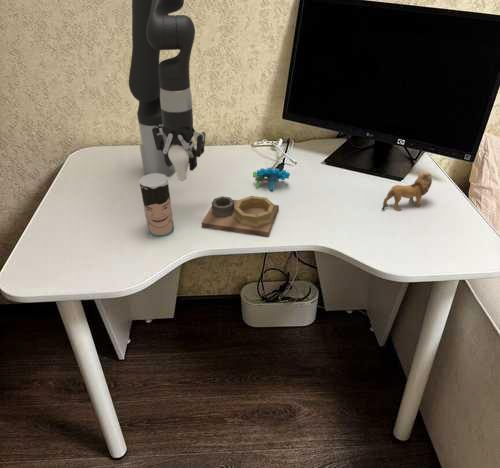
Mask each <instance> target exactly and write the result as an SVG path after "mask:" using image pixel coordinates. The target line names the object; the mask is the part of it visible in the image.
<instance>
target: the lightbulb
mask: <svg viewBox="0 0 500 468" xmlns="http://www.w3.org/2000/svg"><path fill="white" fill-rule="evenodd" d="M168 156H169V159H170V161H171V162H172V163H173V165H174V167H175V173H176V177H177V180H178V181H180V182H185V181H186V180H187V179H188V174H187V173H188V166H189V158H190V156H189V154H188V152H187V151H185V149H184V147H183V146H180V145H173V144H172V145H171V147H170V148H169V151H168Z"/></svg>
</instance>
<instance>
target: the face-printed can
mask: <svg viewBox="0 0 500 468" xmlns="http://www.w3.org/2000/svg"><path fill="white" fill-rule="evenodd" d="M139 186H140V192H141V197H142V202H143V208H144V215H145V219H146V228H147V232H148V234H149V236H151V237H153V238H158V239H160V238H165V237H168V236H170V235H172V234H173V233H174V232H175V224H174V216H173V210H172V203H171V195H170V194H171V193H170V188H169V180H168V177H167V176H166V175H164V174H160V173H152V174H148V175H147V174H144V175H143V176H142V177H141V178H140V179H139Z"/></svg>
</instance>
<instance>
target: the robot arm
mask: <svg viewBox="0 0 500 468" xmlns="http://www.w3.org/2000/svg"><path fill="white" fill-rule="evenodd" d="M184 3H185V0H131V12H132V13H131V37H132V41H131V42H132V44H131V45H132V48H131V49H132V50H131V51H132V52H131V59H130V67H129V74H128V87H129V91H130V93H131V95H132V96H133V98H134V99H136V100H137V101H138V109H137V112H136V113H137V114H136V115H137V121H138V126H139V133H140V138H141V144H140V146H139V150H140V155H141V163H142V167H143V173H144V175H148V174H152V173H160V174H164V175H166V176H167V178H168V177H171V176H172V175H174V174H175V173H176V171H175V167H174V165H173V163H172V162H171V161H170V159H169V156H168V151H169V148H170V147H171V145H172V144H173V145H180V146H183V147H184V149H185V151H187V152H188V154H189V156H190V158H189V164H188V166H189V171H193V172H194V170H195V169H196V168H197V167H198V158H200V157H201V156H202V155H203V154H204V152H205V143H206V132H204V131H202V132H197V131H196V130H195V128H194V116H193V115H194V114H193V113H194V112H193V99H192V98H193V97H192V91H191V82H190V81H191V79H190V62H191V56H192V55H191V54H192V50H193V46H194V42H195V37H196V27H195V23H194V22H193V20H192V18H191V17H190V16H189V15H185V14H176V15H175V14H173V13H176V12H178V11H179V10H181V9H183V6H184ZM170 14H173V15H170ZM173 50H175V51H177V50H179V52H178V54H177V55H175V56H173V57H169V58H166V59H163V60H162V61H160V55H161V51H173ZM193 138H194V139H195V141H194V139H193ZM195 142H196V146H195Z"/></svg>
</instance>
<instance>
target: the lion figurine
mask: <svg viewBox="0 0 500 468" xmlns="http://www.w3.org/2000/svg"><path fill="white" fill-rule="evenodd" d="M432 183H433V177H432V174H431V173H429V172H425V171H424V172H422V173H419V174H418V175H417V178H416V180H414V182H413V183H412V184H408V185H401V184H395V185H393V186H392V187H391V188H390V190H389V191H388V193H387V195H386V196H385V197H384V199H383V202H382V205H383V206H382V207H381V210H385V208H386V207H388V201H389V200H390V199H392V198H393V199H394V203H393V206H394V207H395V209H396V210H397V211H401V210H402V208H401V207H400V206H399V203H400V202H401V200H402V198H404V199H408V203H411V204H413V203H414V198H415V199H416V200H415V203H414V204H415V207H417V208H421V204H420V202H421V200H422V197H423V196H425V195H427V194H428V192H429V190H430V188H431V185H432Z"/></svg>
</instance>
